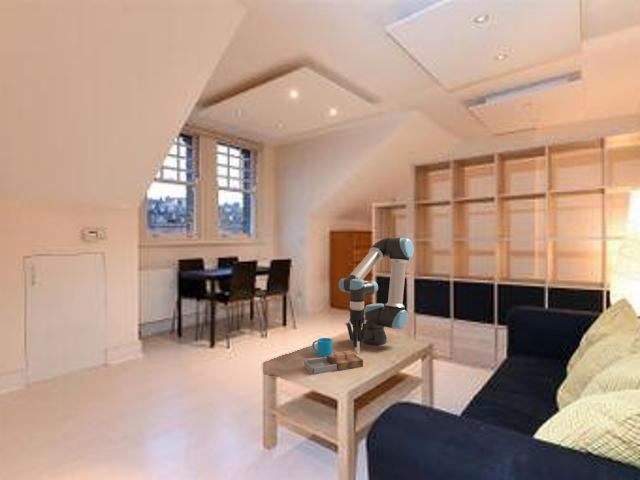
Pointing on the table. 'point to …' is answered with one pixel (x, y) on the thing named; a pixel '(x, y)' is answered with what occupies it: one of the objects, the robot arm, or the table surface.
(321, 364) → the tray
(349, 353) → the tile
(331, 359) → the brown square slab
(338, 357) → the tile
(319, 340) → the mug
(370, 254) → the robot arm
